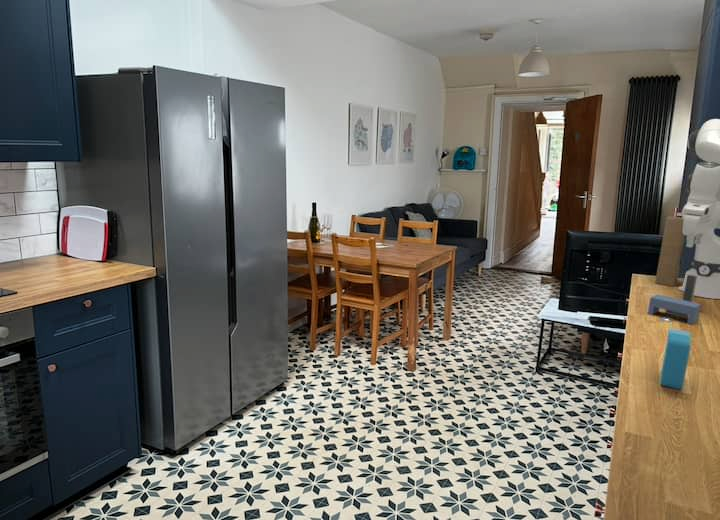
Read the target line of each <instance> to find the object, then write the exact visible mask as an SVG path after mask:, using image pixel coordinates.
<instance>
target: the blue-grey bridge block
mask: <svg viewBox="0 0 720 520" xmlns="http://www.w3.org/2000/svg"><path fill="white" fill-rule="evenodd" d="M701 307H702V303H698V302H695V301H692V302H690V301H685V300H683V299H679V298H676V297H670V296H666V295H661V294H655V295H653V296H651V297H650V298H649V305H648V310H647V314H648V315H652V316H653V315H654V314H656V313H658V312H659V311H660V309H662V310H665V311H666V310H670V311H675V312H679V313H683V314H688V315H689V316H688V318H687V323H686V324H688V323H689V325H694V324H695V323H697V322H698V321H699V318H700V313H701Z"/></svg>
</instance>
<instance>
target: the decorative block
mask: <svg viewBox="0 0 720 520" xmlns="http://www.w3.org/2000/svg"><path fill="white" fill-rule="evenodd" d="M683 222H684V220H683V218H682V216H672V215H668V216H667V217H666V219H665V226H664V231H663V236H662V242H661V248H660V253H659V259H658V263H657V264H658V265H657V269H656V276H655V280H654V284H656V283H657V285H661V284H662V285H663V286H667V285H669V286H668V287H675V285H676V284H677V282H678V279H679V273H680V270H681V269H680V263H681V256H682V252H683V246H684V242H685V236H686V235H683ZM662 285H661V286H662Z"/></svg>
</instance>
